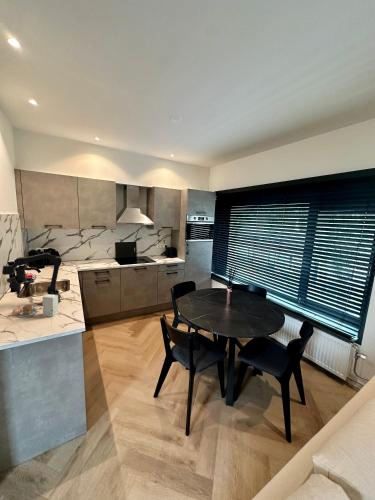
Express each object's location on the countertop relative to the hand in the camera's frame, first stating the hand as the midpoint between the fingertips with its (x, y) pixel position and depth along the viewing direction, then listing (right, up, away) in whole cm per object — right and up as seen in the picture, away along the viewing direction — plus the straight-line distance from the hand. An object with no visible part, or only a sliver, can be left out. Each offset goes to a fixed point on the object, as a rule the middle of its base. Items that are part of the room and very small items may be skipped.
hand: (22, 292), depth 164 cm
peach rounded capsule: (+4, -13, -6) cm, 15 cm away
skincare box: (+29, -15, -10) cm, 34 cm away
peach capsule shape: (+5, -14, -11) cm, 18 cm away
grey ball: (+13, -13, -4) cm, 19 cm away
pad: (+13, -14, -11) cm, 22 cm away
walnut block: (+13, -13, -11) cm, 21 cm away
